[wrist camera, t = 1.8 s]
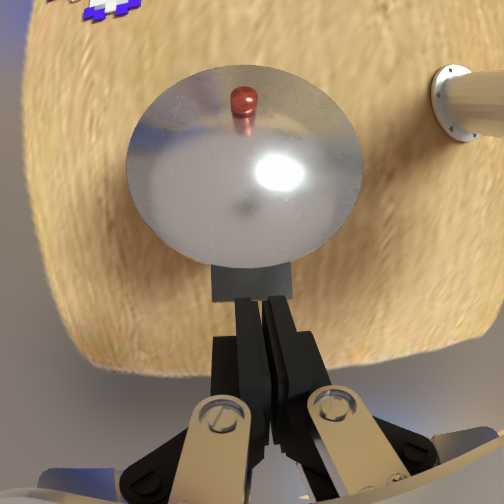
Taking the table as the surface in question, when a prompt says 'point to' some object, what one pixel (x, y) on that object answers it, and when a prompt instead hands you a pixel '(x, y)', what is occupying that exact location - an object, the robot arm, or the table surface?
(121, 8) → the building block set
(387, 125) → the table surface
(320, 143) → the lid
